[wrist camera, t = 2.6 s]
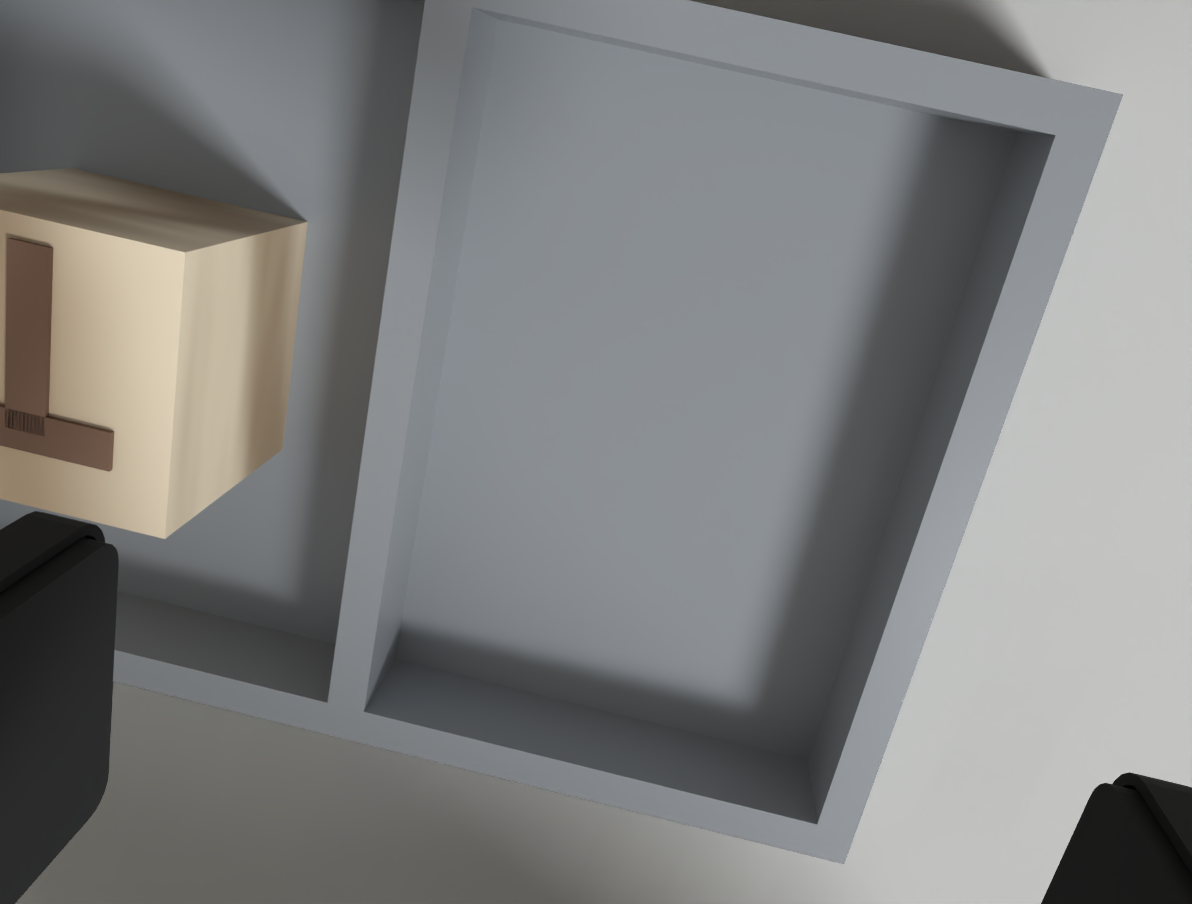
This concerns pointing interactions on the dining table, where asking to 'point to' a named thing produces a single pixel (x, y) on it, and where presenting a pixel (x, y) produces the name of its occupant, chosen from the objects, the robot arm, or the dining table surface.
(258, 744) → the dining table surface
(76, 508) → the letter block
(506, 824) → the dining table surface
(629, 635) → the tray
